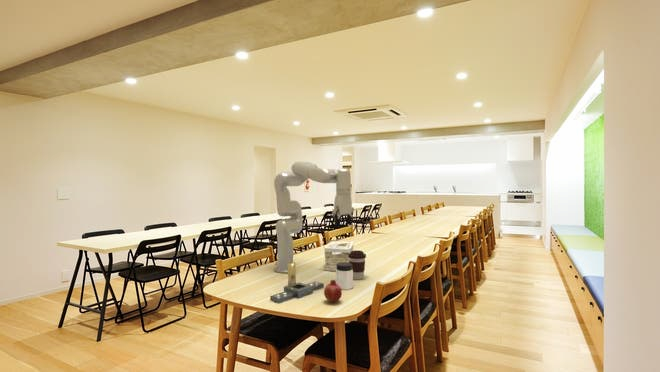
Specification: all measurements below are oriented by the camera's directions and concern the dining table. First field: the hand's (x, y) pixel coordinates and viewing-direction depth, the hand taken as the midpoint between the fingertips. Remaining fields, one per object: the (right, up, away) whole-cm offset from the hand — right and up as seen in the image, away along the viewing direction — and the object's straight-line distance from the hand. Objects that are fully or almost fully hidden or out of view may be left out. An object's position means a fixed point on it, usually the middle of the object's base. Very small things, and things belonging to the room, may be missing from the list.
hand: (343, 225), depth 178 cm
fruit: (-6, -32, -25) cm, 41 cm away
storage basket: (-1, -31, +38) cm, 49 cm away
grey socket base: (-22, -31, -14) cm, 41 cm away
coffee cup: (+8, -31, +13) cm, 35 cm away
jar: (0, -32, -4) cm, 32 cm away
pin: (-27, -31, -2) cm, 41 cm away
